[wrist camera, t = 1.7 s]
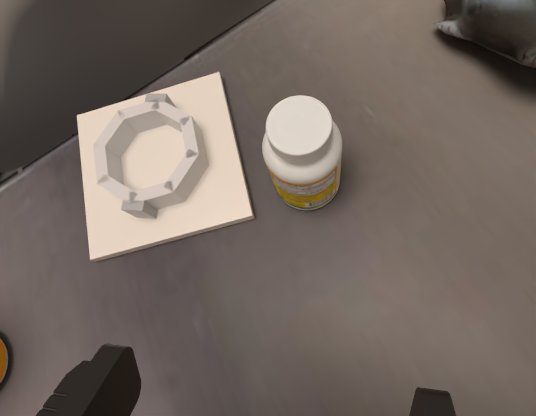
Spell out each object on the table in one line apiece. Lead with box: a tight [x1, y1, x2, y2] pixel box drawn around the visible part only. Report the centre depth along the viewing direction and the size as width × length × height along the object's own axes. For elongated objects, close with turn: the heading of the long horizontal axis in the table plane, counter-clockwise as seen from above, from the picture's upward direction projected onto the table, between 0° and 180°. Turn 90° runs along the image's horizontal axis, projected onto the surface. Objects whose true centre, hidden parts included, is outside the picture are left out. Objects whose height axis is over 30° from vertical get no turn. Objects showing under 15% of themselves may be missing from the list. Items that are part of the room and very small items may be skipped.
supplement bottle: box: [262, 95, 342, 210], centre depth 28 cm, size 5×5×10 cm
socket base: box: [77, 72, 255, 261], centre depth 33 cm, size 14×14×4 cm
